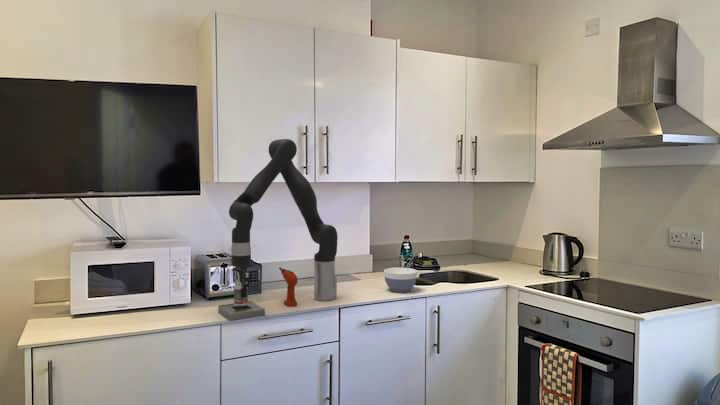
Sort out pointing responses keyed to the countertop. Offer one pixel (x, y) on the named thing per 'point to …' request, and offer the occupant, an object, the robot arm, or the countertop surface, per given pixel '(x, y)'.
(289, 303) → the toy drill
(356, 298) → the countertop surface
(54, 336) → the countertop surface
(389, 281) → the bowl
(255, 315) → the grey flat square block
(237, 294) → the pill bottle
